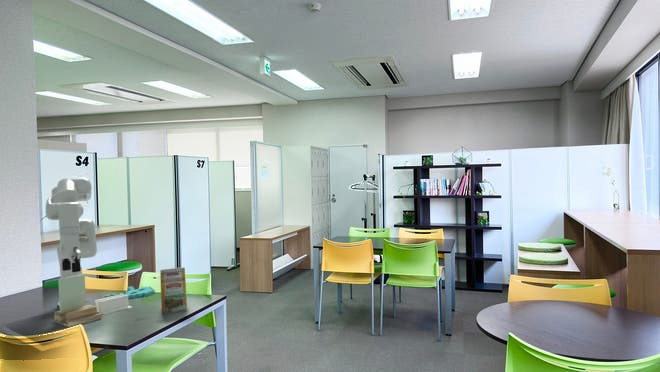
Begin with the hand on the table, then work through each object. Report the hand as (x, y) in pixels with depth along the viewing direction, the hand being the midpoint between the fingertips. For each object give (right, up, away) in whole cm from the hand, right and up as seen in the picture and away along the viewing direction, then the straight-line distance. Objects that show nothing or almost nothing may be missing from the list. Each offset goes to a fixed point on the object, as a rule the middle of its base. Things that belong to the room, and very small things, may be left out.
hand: (71, 271), depth 186 cm
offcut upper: (+6, -18, -3) cm, 19 cm away
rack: (+5, -22, -2) cm, 22 cm away
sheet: (+1, -21, +1) cm, 21 cm away
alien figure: (+6, -22, +46) cm, 51 cm away
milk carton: (+40, -21, +13) cm, 47 cm away
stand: (+12, -21, +13) cm, 28 cm away
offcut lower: (+6, -20, -3) cm, 21 cm away
